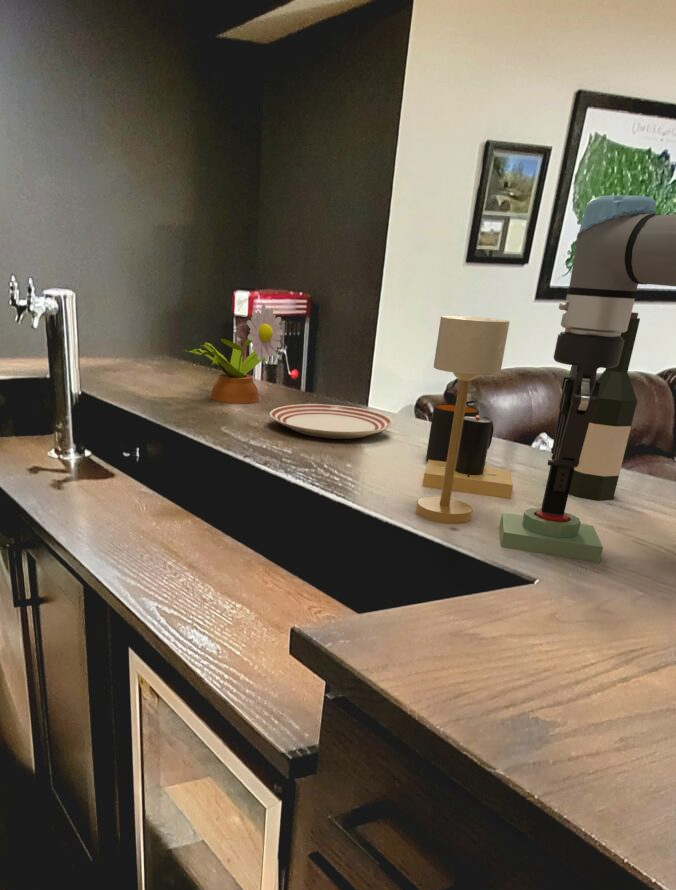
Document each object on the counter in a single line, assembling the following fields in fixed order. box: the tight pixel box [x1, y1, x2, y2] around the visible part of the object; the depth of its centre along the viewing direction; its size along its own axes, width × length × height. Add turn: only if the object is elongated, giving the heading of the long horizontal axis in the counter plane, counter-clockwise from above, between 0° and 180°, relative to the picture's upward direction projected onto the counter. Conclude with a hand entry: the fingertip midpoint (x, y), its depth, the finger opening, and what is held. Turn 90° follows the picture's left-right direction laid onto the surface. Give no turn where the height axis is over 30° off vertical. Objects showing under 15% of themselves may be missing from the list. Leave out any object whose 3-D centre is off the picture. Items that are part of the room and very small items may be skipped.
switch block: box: [498, 507, 604, 563], centre depth 98 cm, size 12×9×4 cm
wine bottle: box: [568, 311, 641, 501], centre depth 119 cm, size 8×8×30 cm
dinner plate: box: [268, 403, 395, 440], centre depth 161 cm, size 28×27×3 cm
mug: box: [425, 403, 495, 462], centre depth 138 cm, size 8×12×10 cm
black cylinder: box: [455, 414, 494, 475], centre depth 122 cm, size 5×5×9 cm
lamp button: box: [536, 510, 569, 522], centre depth 97 cm, size 4×4×2 cm
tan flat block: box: [422, 460, 514, 500], centre depth 124 cm, size 14×10×3 cm
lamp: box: [415, 315, 510, 525], centre depth 103 cm, size 9×9×28 cm
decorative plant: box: [184, 303, 284, 404], centre depth 190 cm, size 27×24×25 cm
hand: (552, 511), depth 97 cm, fingers closed
